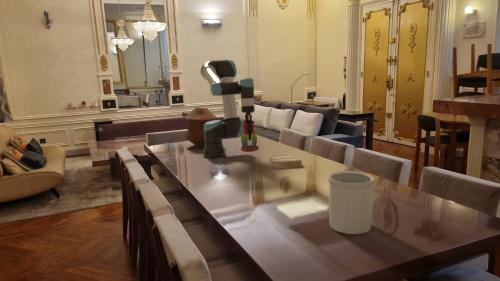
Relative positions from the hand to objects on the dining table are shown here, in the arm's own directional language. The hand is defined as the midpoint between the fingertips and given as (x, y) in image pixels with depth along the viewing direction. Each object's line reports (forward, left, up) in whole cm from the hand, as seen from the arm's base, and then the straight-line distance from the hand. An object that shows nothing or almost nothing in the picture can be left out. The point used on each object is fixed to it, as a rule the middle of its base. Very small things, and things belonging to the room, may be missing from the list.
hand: (249, 143), depth 212 cm
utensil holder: (+94, +27, -13) cm, 99 cm away
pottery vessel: (-68, -32, -13) cm, 76 cm away
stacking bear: (-1, 0, -4) cm, 4 cm away
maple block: (+4, +20, -13) cm, 25 cm away
